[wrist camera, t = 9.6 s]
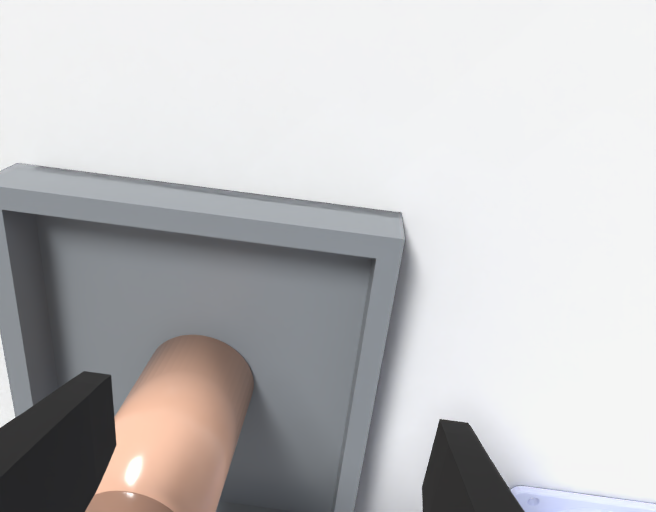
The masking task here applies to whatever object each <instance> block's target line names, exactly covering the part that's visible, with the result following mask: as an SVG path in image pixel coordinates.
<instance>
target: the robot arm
mask: <svg viewBox="0 0 656 512" xmlns="http://www.w3.org/2000/svg"><path fill="white" fill-rule="evenodd" d="M116 445H117V444H116V431H115V418H114V405H113V392H112V379H111V375H109V374H102V373H95V372H87V371H83V372H82V373H80V374H79V375H77V376H76V377H74V378H73V379H71V380H70V381H68V382H67V383H65V384H64V385H62V386H61V387H60V388H58V389H57V390H55V391H54V392H52V393H51V394H49V395H48V396H47V397H45V398H44V399H42V400H41V401H39V402H38V403H36V404H35V405H34V406H32V407H31V408H29V409H28V410H26V411H25V412H23V413H22V414H20V415H19V416H17V417H16V418H14V419H13V420H11V421H10V422H8V423H7V424H5V425H4V426H2V427H1V428H0V512H85V511H86V509H87V507H88V505H89V504H90V502H91V500H92V498H93V497H94V495H95V493H96V491H97V489H98V487H99V485H100V483H101V481H102V478H103V476H104V474H105V472H106V469H107V467H108V465H109V462H110V460H111V457H112V455H113V453H114V450H115V448H116ZM422 497H423V512H656V504H652V503H644V502H637V501H630V500H623V499H615V498H608V497H601V496H593V495H586V494H579V493H571V492H564V491H557V490H549V489H542V488H535V487H527V486H516V487H514V488H512V489H511V490H510V489H509V488H508V486H507V485H506V483H505V481H504V480H503V478H502V477H501V475H500V474H499V472H498V470H497V469H496V467H495V466H494V464H493V462H492V461H491V459H490V458H489V456H488V454H487V453H486V451H485V449H484V448H483V446H482V444H481V443H480V441H479V439H478V438H477V436H476V434H475V433H474V431H473V429H472V428H471V426H470V425H469V424H468V423H465V422H457V421H450V420H442V419H440V420H439V424H438V428H437V432H436V436H435V440H434V444H433V447H432V451H431V455H430V459H429V463H428V467H427V471H426V474H425V478H424V482H423V486H422ZM530 498H533V499H530Z"/></svg>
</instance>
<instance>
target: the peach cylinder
mask: <svg viewBox="0 0 656 512" xmlns="http://www.w3.org/2000/svg"><path fill="white" fill-rule="evenodd" d="M253 389H254V380H253V375H252V372H251V370H250V367H249V365H248V364H247V362H246V361H245V359H244V358H243V357H242V356H241V355H240V354H239V353H238V352H237V351H236V350H235V349H233V348H232V347H231V346H229V345H227V344H226V343H224V342H222V341H219V340H217V339H214V338H211V337H207V336H202V335H182V336H178V337H175V338H172V339H169V340H168V341H166V342H164V343H163V344H161V345H160V346H159V347H158V348H157V349H156V351H155V352H154V353H153V355H152V357H151V358H150V360H149V362H148V363H147V365H146V366H145V368H144V370H143V371H142V373H141V375H140V376H139V378H138V379H137V381H136V383H135V384H134V386H133V388H132V389H131V391H130V392H129V394H128V396H127V397H126V399H125V401H124V402H123V404H122V406H121V407H120V409H119V410H118V412H117V414H116V415H115V417H114V418H115V431H116V444H117V445H116V448H115V450H114V453H113V455H112V457H111V460H110V462H109V465H108V467H107V469H106V472H105V474H104V476H103V478H102V481H101V483H100V485H99V487H98V489H97V491H96V493H95V495H94V497H93V498H92V500H91V502H90V504H89V505H88V507H87V509H86V511H85V512H216V509H217V506H218V503H219V499H220V496H221V493H222V490H223V487H224V483H225V480H226V477H227V474H228V471H229V467H230V464H231V461H232V458H233V455H234V451H235V448H236V445H237V442H238V439H239V435H240V432H241V429H242V426H243V423H244V419H245V416H246V413H247V410H248V407H249V403H250V400H251V397H252V394H253Z"/></svg>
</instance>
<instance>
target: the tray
mask: <svg viewBox="0 0 656 512" xmlns="http://www.w3.org/2000/svg"><path fill="white" fill-rule="evenodd" d="M404 243H405V235H404V228H403V221H402V214H401V213H400V212H392V211H384V210H376V209H369V208H361V207H353V206H345V205H338V204H330V203H322V202H315V201H307V200H299V199H291V198H284V197H276V196H268V195H260V194H253V193H245V192H237V191H229V190H222V189H214V188H206V187H198V186H191V185H183V184H175V183H167V182H160V181H152V180H144V179H137V178H129V177H121V176H113V175H106V174H98V173H90V172H82V171H75V170H67V169H59V168H51V167H44V166H36V165H28V164H20V163H16V164H14V165H12V166H10V167H8V168H6V169H3V170H1V171H0V333H1V339H2V344H3V350H4V356H5V361H6V367H7V372H8V378H9V384H10V389H11V395H12V400H13V406H14V412H15V417H17V416H19V415H20V414H22V413H23V412H25V411H26V410H28V409H29V408H31V407H32V406H34V405H35V404H36V403H38V402H39V401H41V400H42V399H44V398H45V397H47V396H48V395H49V394H51V393H52V392H54V391H55V390H57V389H58V388H60V387H61V386H62V385H64V384H65V383H67V382H68V381H70V380H71V379H73V378H74V377H76V376H77V375H79V374H80V373H82V372H83V371H87V372H95V373H102V374H109V375H111V379H112V392H113V405H114V417H115V415H116V414H117V412H118V410H119V409H120V407H121V406H122V404H123V402H124V401H125V399H126V397H127V396H128V394H129V392H130V391H131V389H132V388H133V386H134V384H135V383H136V381H137V379H138V378H139V376H140V375H141V373H142V371H143V370H144V368H145V366H146V365H147V363H148V362H149V360H150V358H151V357H152V355H153V353H154V352H155V351H156V349H157V348H158V347H159V346H160V345H161V344H163V343H164V342H166V341H168V340H169V339H172V338H175V337H178V336H182V335H202V336H207V337H211V338H214V339H217V340H219V341H222V342H224V343H226V344H227V345H229V346H231V347H232V348H233V349H235V350H236V351H237V352H238V353H239V354H240V355H241V356H242V357H243V358H244V359H245V361H246V362H247V364H248V365H249V367H250V370H251V372H252V375H253V380H254V389H253V394H252V397H251V400H250V403H249V407H248V410H247V413H246V416H245V419H244V423H243V426H242V429H241V432H240V435H239V439H238V442H237V445H236V448H235V451H234V455H233V458H232V461H231V464H230V467H229V471H228V474H227V477H226V480H225V483H224V487H223V490H222V493H221V496H220V499H219V503H218V506H217V509H216V512H354V508H355V503H356V497H357V492H358V487H359V482H360V476H361V471H362V466H363V460H364V455H365V450H366V444H367V439H368V434H369V429H370V423H371V418H372V413H373V407H374V402H375V397H376V391H377V386H378V381H379V375H380V370H381V365H382V360H383V354H384V349H385V344H386V338H387V333H388V328H389V322H390V317H391V312H392V307H393V301H394V296H395V291H396V285H397V280H398V275H399V269H400V264H401V259H402V254H403V248H404Z"/></svg>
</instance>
